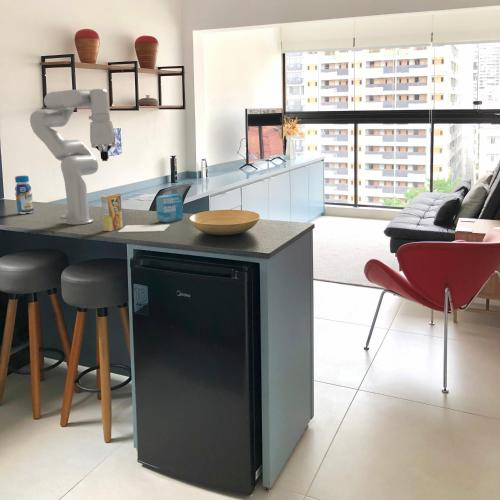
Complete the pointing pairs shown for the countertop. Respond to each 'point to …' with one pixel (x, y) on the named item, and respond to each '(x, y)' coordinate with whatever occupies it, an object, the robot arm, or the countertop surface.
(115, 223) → the candy box
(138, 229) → the felt mat
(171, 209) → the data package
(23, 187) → the beverage bottle
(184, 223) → the countertop surface
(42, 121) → the robot arm
